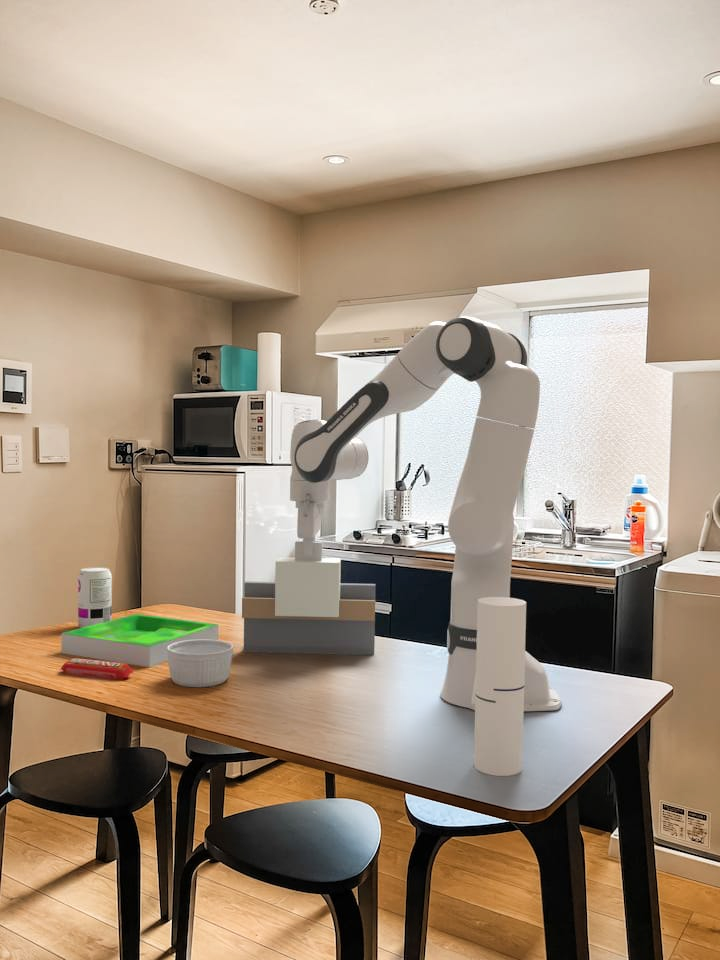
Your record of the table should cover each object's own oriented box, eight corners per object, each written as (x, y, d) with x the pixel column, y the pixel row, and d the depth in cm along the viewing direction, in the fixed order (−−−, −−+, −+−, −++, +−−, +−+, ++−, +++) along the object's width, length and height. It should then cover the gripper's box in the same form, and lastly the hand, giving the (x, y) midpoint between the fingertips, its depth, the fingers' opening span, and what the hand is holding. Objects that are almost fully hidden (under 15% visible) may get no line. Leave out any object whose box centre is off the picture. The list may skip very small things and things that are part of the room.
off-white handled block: (340, 610, 190) (340, 540, 189) (338, 617, 183) (339, 544, 182) (278, 609, 190) (279, 539, 189) (274, 615, 183) (275, 543, 182)
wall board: (374, 648, 196) (375, 581, 196) (374, 658, 187) (375, 587, 187) (247, 645, 197) (248, 578, 196) (241, 655, 188) (242, 584, 187)
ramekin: (214, 668, 177) (214, 635, 177) (245, 682, 167) (245, 648, 167) (155, 677, 169) (156, 644, 169) (184, 693, 159) (184, 657, 159)
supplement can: (73, 630, 210) (73, 571, 209) (85, 623, 218) (85, 566, 218) (104, 631, 210) (105, 572, 209) (115, 624, 218) (116, 567, 217)
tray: (149, 669, 177) (149, 646, 177) (61, 655, 188) (61, 633, 187) (218, 645, 200) (218, 624, 199) (135, 633, 210) (135, 613, 210)
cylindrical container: (522, 777, 121) (526, 607, 120) (473, 773, 122) (476, 604, 121) (521, 759, 128) (525, 598, 127) (474, 755, 129) (478, 595, 128)
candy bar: (57, 674, 171) (57, 660, 171) (68, 670, 175) (68, 656, 175) (125, 682, 166) (125, 667, 166) (136, 677, 170) (136, 663, 170)
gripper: (320, 495, 175) (319, 561, 175) (326, 490, 195) (326, 549, 196) (290, 495, 175) (290, 560, 176) (300, 490, 195) (299, 549, 196)
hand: (309, 554), depth 186 cm, fingers closed on off-white handled block
